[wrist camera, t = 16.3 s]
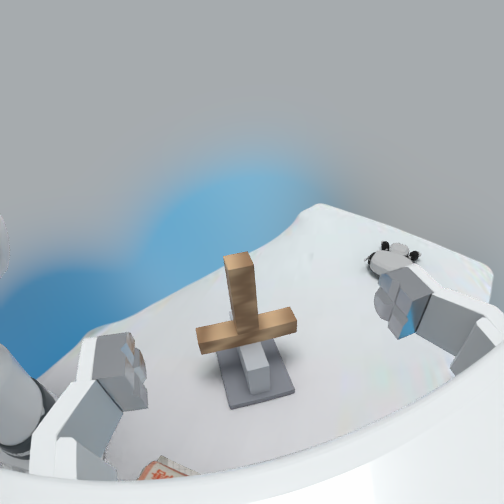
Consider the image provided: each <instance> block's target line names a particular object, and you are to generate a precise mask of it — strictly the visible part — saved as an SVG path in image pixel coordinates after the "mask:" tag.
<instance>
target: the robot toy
mask: <svg viewBox="0 0 504 504" xmlns="http://www.w3.org/2000/svg"><path fill="white" fill-rule="evenodd" d="M381 245H382V250H380V251H377V252H374V253H373V254H371V255H370V256H368V257H367V258H366V259H364V261H366V260H367V259H368V264H369V265H370V269H372V271H373V272H375V273H376V274H378V275H380V276H381V274H383V273H386V272H389V271H392V270H395V269H399V268H402V267H405V266H408V265H411V264H413V262H412V261H411V260H413V261H414V260H416V259H418V257H420V256H421V253H419V252H418V251H413V252H411V253H410V255H409V249H408V247H407V246H406V245H403V244H400V243H393V244H392V245H391V246H390V250H389V243H388V242H387V241H382V242H381ZM408 255H409V256H408Z"/></svg>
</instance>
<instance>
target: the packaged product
mask: <svg viewBox="0 0 504 504" xmlns="http://www.w3.org/2000/svg"><path fill="white" fill-rule="evenodd" d="M193 475H200V473H198V472H196V471H193V470H191V469H189V468H186V467H184V466H182V465H180V464H178V463H176V462H174V461H171V460H169V459H168V458H166V457H164V456H162V455H161V456H160V457H159V459H158V460H157V461H153V462H151V463H150V464H149V465H148V466H145V468H144V469H143V470H142V472H141V474H140V477H139V478H138V479H137V480H154V479H167V478H177V477H185V476H193Z"/></svg>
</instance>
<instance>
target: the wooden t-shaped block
mask: <svg viewBox="0 0 504 504" xmlns="http://www.w3.org/2000/svg"><path fill="white" fill-rule="evenodd" d="M223 258H224V265H225V271H226V278H227V284H228V290H229V297H230V303H231V309H232V315H233V320H232V321H227V322H222V323H218V324H213V325H208V326H204V327H199V328H196V333H197V339H198V344H199V348H200V351H201V354H202V355H203V354H208V353H212V352H217V351H222V350H226V349H231V348H235V347H240V346H244V345H248V344H252V343H257V342H261V341H265V340H269V339H272V338H276V337H280V336H284V335H288V334H291V333H295V332H297V319H296V318H295V316H294V314H293V312H292V310H291V308H290V307H287V308H283V309H279V310H275V311H270V312H266V313H262V314H258V309H257V297H256V285H255V273H254V264H253V262H252V260H251V258H250V256H249V254H248V252H242V253H237V254H232V255H228V256H223Z"/></svg>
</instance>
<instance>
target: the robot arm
mask: <svg viewBox="0 0 504 504" xmlns="http://www.w3.org/2000/svg"><path fill="white" fill-rule="evenodd" d="M9 251H10V247H9V237H8V232H7V228H6V225H5V222H4V220H3V218H2V216H1V214H0V278H1V277H2V276H3V274H4V273H5V272H6V270H7V269H8V264H9V253H10V252H9ZM378 284H379V286H380V288H379V289H378V291H377V292H376V293H375V297H374V305H375V309H376V312H377V314H378V315H379V316H380V318H381V319H384V320H386V321H388V328H389V329H390V331H391V332H392V333H393V334H394V336H395V337H396V338H397V340H399V339H401V338H404V337H406V336H408V335H411V334H413V333H416V334H417V335H419V336H421V337H423V338H424V339H426V340H428V341H429V342H431V343H433V344H435V345H436V346H438V347H440V348H442V349H443V350H445V351H447V352H449V353H450V354H452V355H454V356H456V357H455V359H454V360H453V362H452V363H451V365H450V369H451V371H452V372H453V373H454V375H455V377H453V378H452V379H450V380H449V381H447V382H446V383H444V384H442V385H441V386H439V387H438V388H436V389H434V390H433V391H431V392H429V393H428V394H426V395H424V396H423V397H421V398H419V399H417V400H416V401H414V402H412V403H410V404H408V405H407V406H405V407H403V408H401V409H399V410H397V411H395V412H393V413H391V414H389V415H387V416H385V417H383V418H381V419H379V420H377V421H375V422H373V423H371V424H368V425H366V426H364V427H362V428H359V429H357V430H355V431H352V432H350V433H348V434H345V435H343V436H340V437H338V438H335V439H333V440H330V441H327V442H325V443H322V444H319V445H316V446H313V447H310V448H308V449H305V450H302V451H298V452H295V453H292V454H289V455H285V456H282V457H279V458H275V459H271V460H268V461H264V462H260V463H256V464H252V465H247V466H243V467H238V468H234V469H229V470H224V471H218V472H212V473H206V474H200V475H193V476H185V477H177V478H167V479H154V480H135V481H117V471H116V469H115V468H114V467H113V466H112V465H110V464H109V463H107V462H105V461H104V460H103V457H104V451H105V449H106V447H107V445H108V443H109V441H110V439H111V437H112V435H113V433H114V431H115V429H116V427H117V425H118V423H119V421H120V419H121V417H122V415H123V412H125V411H133V410H140V409H147V408H148V398H147V389H146V388H145V386H144V384H143V383H144V381H145V380H146V378H147V377H146V367H145V362H144V359H143V356H142V354H141V352H140V350H139V349H137V348H135V340H134V338H133V336H132V335H131V333H129V332H126V333H119V334H112V335H104V336H99V337H90V338H85V339H84V340H83V341H82V345H81V350H80V356H79V362H78V368H77V375H76V381H75V382H71V383H70V385H69V386H68V387H67V388H66V390H65V391H64V392H63V394H62V395H61V396H60V397H59V399H58V398H57V397H56V396H55V395H53V394H52V393H51V392H50V391H48V390H47V389H46V388H45V387H44V386H43V385H41V384H40V383H39V382H38V381H37V380H35V379H34V378H32V377H30V376H29V375H28V374H27V373H26V372H25V370H24V369H23V368H22V367H21V366H20V364H19V363H18V362H17V361H16V359H15V358H14V357H13V356H12V354H11V353H10V352H9V351H8V349H7V348H5V347H4V346H3V345H2V344H0V462H1V463H2V467H3V468H0V504H504V314H503V313H502V312H501V311H500V310H499V309H498V308H497V307H496V306H493V305H490V304H488V303H485V302H483V301H480V300H478V299H475V298H473V297H470V296H467V295H465V294H462V293H460V292H457V291H454V290H452V289H449V288H445V289H444V288H443V287H442V286H441V285H440V284H439V283H438V282H437V281H436V280H435V279H434V278H433V277H431V276H430V275H429V274H428V273H427V272H426V271H425V270H424V269H423V268H422V267H421V266H420V265H418V264H415V263H414V264H411V265H408V266H405V267H402V268H399V269H395V270H392V271H389V272H386V273H383V274H381V276H380V277H379V280H378Z"/></svg>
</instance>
